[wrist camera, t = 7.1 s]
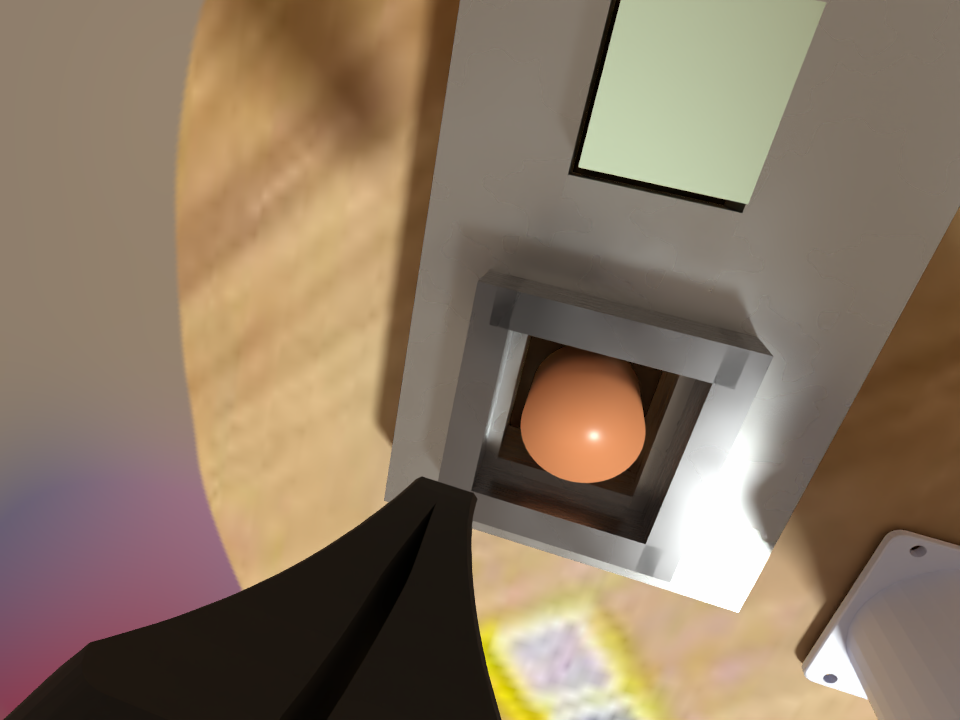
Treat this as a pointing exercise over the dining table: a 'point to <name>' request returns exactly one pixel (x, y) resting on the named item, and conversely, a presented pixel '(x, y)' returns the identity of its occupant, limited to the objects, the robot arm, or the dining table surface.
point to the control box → (671, 285)
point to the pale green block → (697, 91)
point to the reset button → (583, 416)
